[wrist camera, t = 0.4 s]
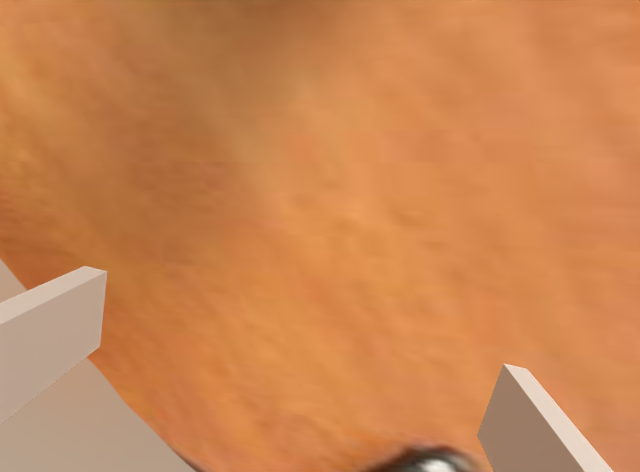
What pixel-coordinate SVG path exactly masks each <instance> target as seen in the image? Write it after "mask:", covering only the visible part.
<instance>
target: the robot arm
mask: <svg viewBox="0 0 640 472" xmlns="http://www.w3.org/2000/svg"><path fill="white" fill-rule="evenodd" d="M106 281H107V271H105V270H100V269H96V268H92V267H88V266H83V267H81V268H79V269H76V270H74V271H72V272H69V273H67V274H65V275H62V276H60V277H58V278H56V279H53V280H51V281H49V282H46V283H44V284H42V285H39V286H37V287H35V288H33V289H30V290H28V291H26V292H24V293H21V294H19V295H16V296H14V297H12V298H10V299H7V300H5V301H3V302H0V425H1V424H2V423H4V422H5V421H6V420H7V419H9V418H10V417H11V416H12V415H14V414H15V413H16V412H17V411H19V410H20V409H21V408H22V407H24V406H25V405H26V404H27V403H29V402H30V401H31V400H33V399H34V398H35V397H36V396H38V395H39V394H40V393H41V392H43V391H44V390H45V389H47V388H48V387H49V386H50V385H52V384H53V383H54V382H55V381H57V380H58V379H59V378H60V377H62V376H63V375H64V374H66V373H67V372H68V371H69V370H70V369H72V368H73V367H74V366H76V365H77V364H78V363H79V362H81V361H82V360H83V359H84V358H86V357H87V356H88V355H90V354H91V353H92V352H93V351H95V350H96V349H97V348H99V347H100V342H101V332H102V321H103V311H104V301H105V291H106ZM477 436H478V438H479V440H480V443H481V445H482V447H483V449H484V451H485V453H486V455H487V458H488V460H489V462H490V464H491V466H492V468H493V470H494V472H613V471H612V469H611V468H610V467H609V466H608V465H607V463H606V462H605V461H604V460H603V459H602V458H601V456H600V455H599V454H598V453H597V452H596V450H595V449H594V448H593V447H592V446H591V444H590V443H589V442H588V441H587V440H586V438H585V437H584V436H583V435H582V434H581V433H580V431H579V430H578V429H577V428H576V427H575V425H574V424H573V423H572V422H571V421H570V419H569V418H568V417H567V416H566V415H565V413H564V412H563V411H562V410H561V409H560V408H559V406H558V405H557V404H556V403H555V402H554V400H553V399H552V398H551V397H550V396H549V394H548V393H547V392H546V391H545V390H544V389H543V387H542V386H541V385H540V384H539V383H538V381H537V380H536V379H535V378H534V377H533V375H532V374H531V373H530V372H529V371H528V369H525V368H521V367H517V366H513V365H508V364H504V363H503V366H502V369H501V371H500V374H499V377H498V380H497V382H496V385H495V388H494V391H493V393H492V396H491V399H490V402H489V404H488V407H487V410H486V412H485V415H484V418H483V421H482V423H481V426H480V429H479V432H478V434H477Z"/></svg>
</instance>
